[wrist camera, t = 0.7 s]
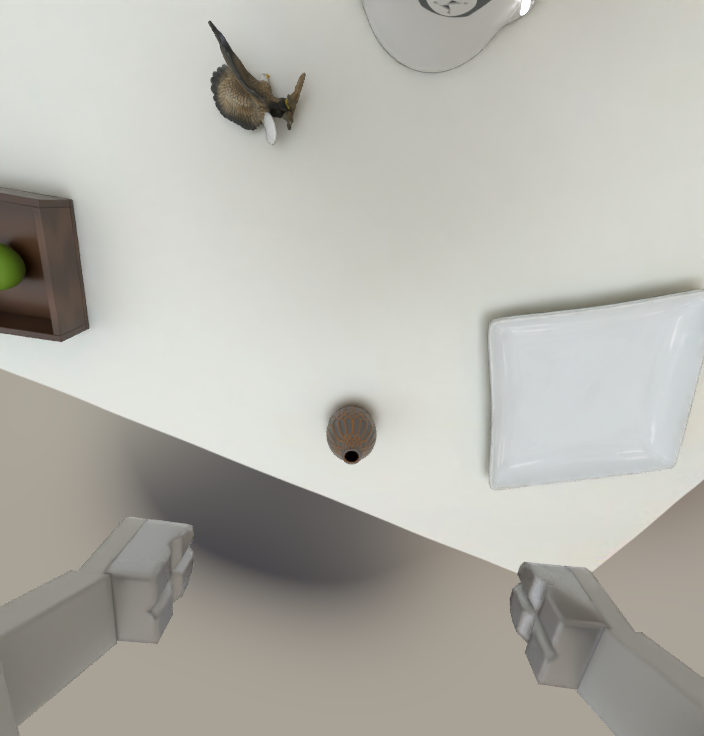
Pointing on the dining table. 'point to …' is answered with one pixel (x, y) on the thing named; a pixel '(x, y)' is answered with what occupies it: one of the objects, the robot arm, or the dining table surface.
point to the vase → (351, 434)
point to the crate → (42, 267)
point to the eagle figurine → (249, 94)
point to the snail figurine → (10, 267)
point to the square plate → (593, 389)
